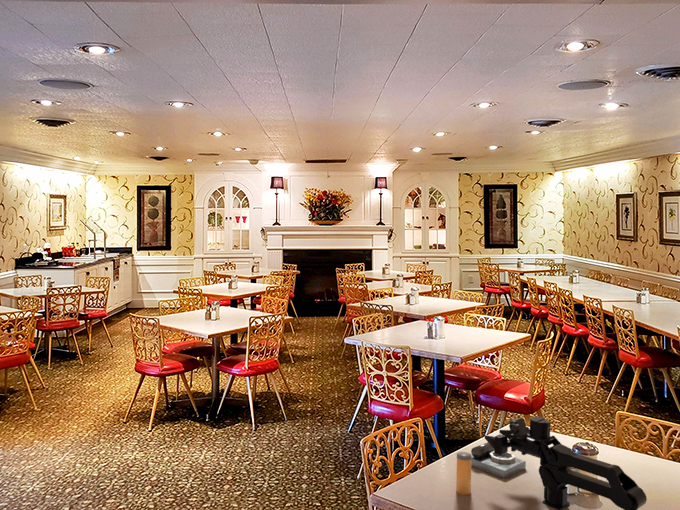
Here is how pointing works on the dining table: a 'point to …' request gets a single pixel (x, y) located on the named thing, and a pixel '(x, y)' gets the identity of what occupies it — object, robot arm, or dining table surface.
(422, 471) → the dining table surface
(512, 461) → the octagonal ring base plate
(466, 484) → the lidded container
